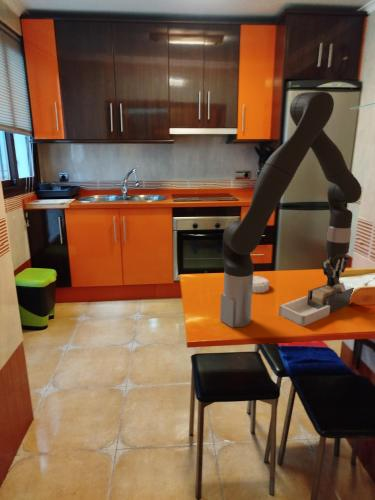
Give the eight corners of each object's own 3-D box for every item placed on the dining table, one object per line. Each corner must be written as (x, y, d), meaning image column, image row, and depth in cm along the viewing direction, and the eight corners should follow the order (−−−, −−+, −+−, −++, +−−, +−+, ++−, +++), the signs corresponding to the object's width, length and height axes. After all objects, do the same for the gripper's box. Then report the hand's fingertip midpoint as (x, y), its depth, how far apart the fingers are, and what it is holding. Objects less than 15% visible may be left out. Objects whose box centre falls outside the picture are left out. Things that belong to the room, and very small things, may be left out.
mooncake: (274, 287, 144) (274, 279, 143) (258, 295, 135) (258, 287, 134) (250, 280, 152) (250, 272, 151) (233, 287, 143) (233, 279, 142)
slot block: (326, 314, 120) (328, 298, 118) (306, 305, 126) (308, 290, 124) (352, 303, 128) (355, 288, 127) (332, 295, 135) (334, 281, 133)
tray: (302, 326, 111) (303, 316, 110) (278, 314, 119) (279, 305, 118) (329, 315, 119) (330, 306, 118) (304, 304, 127) (305, 296, 126)
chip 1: (321, 304, 120) (322, 294, 119) (311, 300, 123) (312, 290, 122) (328, 302, 122) (329, 291, 121) (318, 298, 125) (319, 288, 124)
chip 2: (328, 302, 122) (329, 291, 121) (318, 298, 125) (319, 288, 124) (335, 299, 124) (336, 289, 123) (325, 295, 127) (326, 285, 126)
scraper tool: (342, 292, 121) (332, 267, 123) (330, 294, 126) (321, 271, 127) (346, 290, 123) (336, 266, 124) (334, 293, 127) (325, 269, 128)
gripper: (336, 244, 114) (330, 293, 119) (359, 238, 121) (353, 284, 126) (316, 239, 120) (311, 286, 125) (340, 234, 127) (334, 278, 132)
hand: (332, 284), depth 126 cm, fingers closed on scraper tool, 2 cm apart
